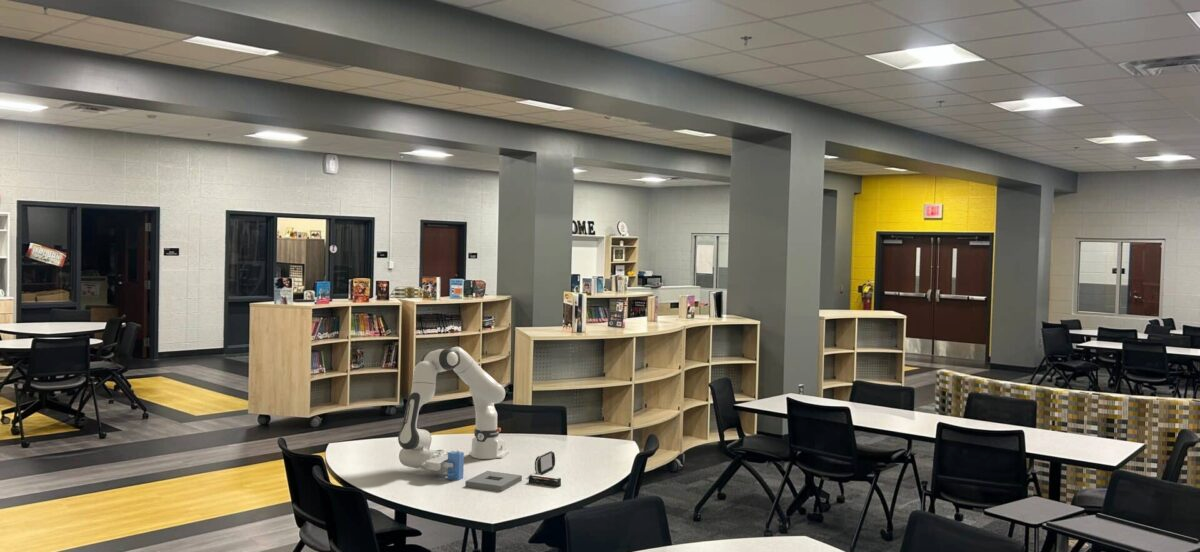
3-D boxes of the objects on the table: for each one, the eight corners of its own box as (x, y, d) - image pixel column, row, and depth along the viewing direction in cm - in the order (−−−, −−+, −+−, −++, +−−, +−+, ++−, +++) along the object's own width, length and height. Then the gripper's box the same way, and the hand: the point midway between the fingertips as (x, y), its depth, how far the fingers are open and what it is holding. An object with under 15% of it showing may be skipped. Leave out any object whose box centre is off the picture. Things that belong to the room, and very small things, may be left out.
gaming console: (534, 476, 388) (538, 476, 387) (532, 457, 388) (537, 457, 388) (552, 467, 406) (556, 468, 405) (550, 449, 406) (555, 449, 405)
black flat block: (530, 479, 385) (530, 470, 385) (579, 486, 376) (579, 477, 376) (515, 487, 372) (515, 477, 372) (566, 494, 362) (566, 484, 362)
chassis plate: (486, 476, 386) (486, 470, 386) (521, 480, 380) (521, 475, 380) (465, 486, 368) (465, 481, 368) (501, 491, 361) (501, 486, 361)
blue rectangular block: (455, 475, 387) (455, 447, 386) (466, 476, 385) (467, 448, 384) (443, 480, 377) (444, 451, 377) (455, 481, 375) (456, 452, 375)
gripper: (419, 458, 375) (445, 461, 371) (442, 449, 395) (468, 452, 390) (418, 472, 376) (445, 475, 371) (442, 462, 395) (468, 465, 390)
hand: (457, 463), depth 380 cm, fingers open, 5 cm apart
